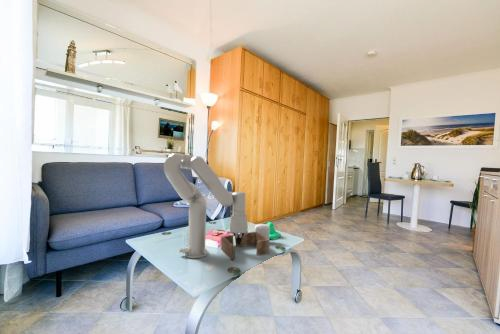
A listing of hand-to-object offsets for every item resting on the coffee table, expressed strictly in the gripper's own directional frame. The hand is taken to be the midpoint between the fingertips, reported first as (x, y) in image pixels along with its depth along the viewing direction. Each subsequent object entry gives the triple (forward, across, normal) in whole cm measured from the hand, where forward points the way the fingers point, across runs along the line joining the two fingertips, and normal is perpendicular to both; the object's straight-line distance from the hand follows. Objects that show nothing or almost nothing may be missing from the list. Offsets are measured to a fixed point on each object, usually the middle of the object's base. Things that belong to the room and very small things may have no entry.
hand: (238, 243), depth 128 cm
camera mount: (+7, +19, +30) cm, 36 cm away
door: (+5, -2, -3) cm, 6 cm away
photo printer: (+6, +12, +18) cm, 23 cm away
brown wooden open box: (+6, +3, +2) cm, 7 cm away
